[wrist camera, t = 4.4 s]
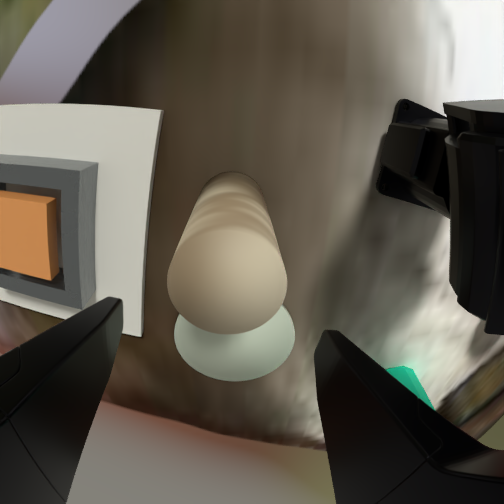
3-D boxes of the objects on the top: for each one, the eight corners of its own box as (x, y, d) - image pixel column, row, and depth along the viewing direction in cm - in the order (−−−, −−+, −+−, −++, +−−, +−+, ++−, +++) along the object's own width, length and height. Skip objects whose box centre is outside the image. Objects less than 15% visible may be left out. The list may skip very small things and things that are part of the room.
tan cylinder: (270, 178, 19) (300, 242, 10) (256, 238, 21) (271, 340, 12) (204, 166, 19) (173, 220, 10) (194, 228, 20) (163, 324, 11)
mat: (308, 295, 23) (309, 299, 22) (277, 381, 26) (278, 386, 26) (180, 274, 22) (179, 279, 21) (172, 367, 25) (171, 372, 25)
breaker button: (56, 197, 16) (46, 203, 15) (59, 271, 18) (51, 280, 17) (-2, 189, 16) (-12, 195, 15) (4, 258, 18) (-5, 266, 17)
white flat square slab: (164, 110, 17) (149, 110, 14) (143, 330, 24) (132, 360, 20) (-25, 106, 15) (-53, 111, 12) (-13, 289, 22) (-33, 309, 18)
